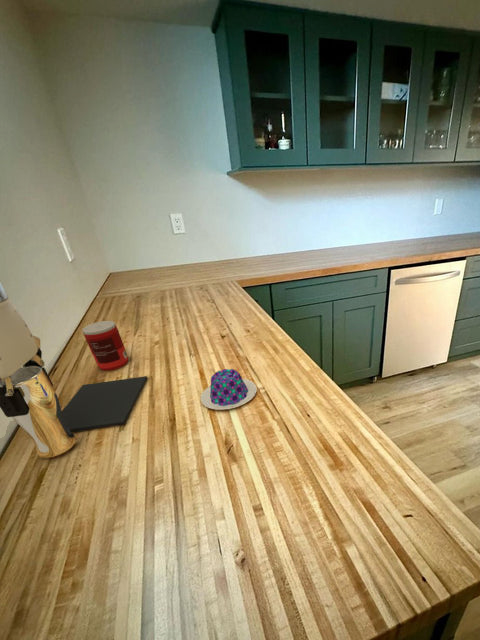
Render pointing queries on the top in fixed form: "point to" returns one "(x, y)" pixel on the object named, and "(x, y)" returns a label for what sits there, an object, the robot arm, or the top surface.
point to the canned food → (106, 345)
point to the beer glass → (41, 412)
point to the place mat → (102, 404)
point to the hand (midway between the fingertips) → (31, 400)
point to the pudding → (228, 390)
